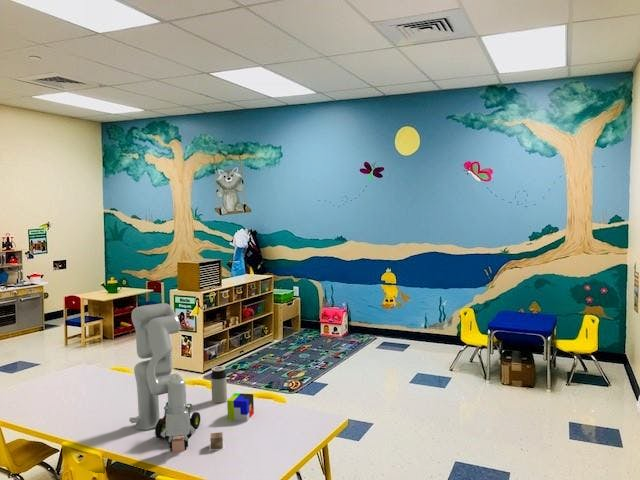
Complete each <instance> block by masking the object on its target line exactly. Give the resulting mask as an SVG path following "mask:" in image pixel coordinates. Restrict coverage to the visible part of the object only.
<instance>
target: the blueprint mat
mask: <svg viewBox="0 0 640 480" xmlns="http://www.w3.org/2000/svg"><path fill="white" fill-rule="evenodd" d="M208 445H209V447H208V451H209V452H210V451H219V450H220V451H221V450H225V445H226V444H225V442H224V441H223V448H222V449H212V450H211V443H209V444H208Z"/></svg>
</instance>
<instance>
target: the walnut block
mask: <svg viewBox="0 0 640 480" xmlns="http://www.w3.org/2000/svg"><path fill="white" fill-rule="evenodd" d="M209 439H210V444H211V450H212V449H222V448H223V442H224V441H223V431H222V432H221V431H219V432H213V433H211V432H210V438H209ZM222 450H223V449H222ZM212 451H213V450H212Z"/></svg>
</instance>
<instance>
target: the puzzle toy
mask: <svg viewBox="0 0 640 480" xmlns="http://www.w3.org/2000/svg"><path fill="white" fill-rule="evenodd" d="M226 404H227V407H226V409H227V420H228V421H238V422H248V421H249V420H250V419H251V418H252V416H253V415H254V414H255V410H254V409H255V408H254V407H255V406H254V394H253V393H241V392H239V393H238V392H234V393H233V394H232V395H231V396H230V397H229V398H227V401H226Z"/></svg>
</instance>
